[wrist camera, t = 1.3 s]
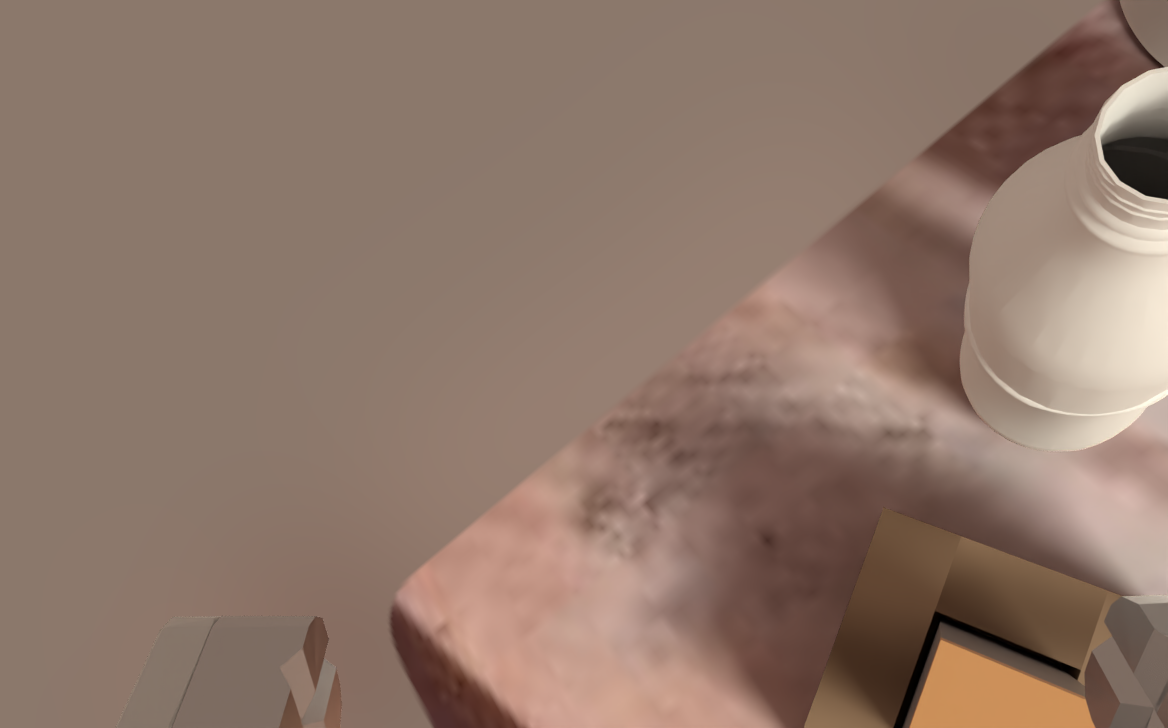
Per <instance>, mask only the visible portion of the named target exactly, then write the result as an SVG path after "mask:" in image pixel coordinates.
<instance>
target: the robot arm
mask: <svg viewBox="0 0 1168 728" xmlns="http://www.w3.org/2000/svg"><path fill="white" fill-rule="evenodd" d="M1119 1H1120V4H1121V7H1122V10H1123V13H1124V15H1125V18H1126V20H1127V22H1128V24H1129V26H1130V27H1131V29H1132V31H1133V32H1134V34H1135V36H1136V37H1137V38H1138V40H1139V41H1140V42H1141V44H1142V45H1143V46H1144V47H1145V48H1146V50H1147V51H1148V52H1149V53H1150V54H1151V55H1152V56H1153V57H1154V58H1155V59H1156V60H1157V61H1158V62H1159V63H1161V64H1162V65H1163V66H1164V67H1168V0H1119ZM1104 623H1105V624H1106V626H1107V628H1108V630H1109V632H1110V633H1111V635H1112V636H1111V637H1110V638H1109V639H1107V640H1106V641H1105V642H1103V643H1102V644H1100V645H1099V646H1098V647H1096V648H1095V649H1093V650H1092V652H1091V655H1090V658H1089V661H1088V663H1087V666H1086V669H1085V672H1084V677H1085V699H1086V702H1087V706H1088V709H1089V712H1090V716H1091V719H1092V722H1093V724H1094V726H1095V728H1168V595H1146V596H1122V597H1120V598H1119V599H1118V600H1116V601H1115V602H1114V603H1112V604H1111V606H1110V608H1109V611H1108V613H1107V615H1106V618H1105V620H1104ZM328 641H329V638H328V635H327V631H326V628H325V625H324V621H323V618H321V617H316V616H221V617H172V618H171V619H170V620H169V621H168V622H167V623H166V624H165V626H164V627H163V628H162V629H161V630H160V632H159V634H158V636H157V638H156V640H155V642H154V645H153V647H152V649H151V651H150V653H149V655H148V658H147V660H146V662H145V664H144V666H143V669H142V671H141V673H140V675H139V677H138V680H137V682H136V684H135V686H134V688H133V691H132V693H131V695H130V697H129V699H128V702H127V704H126V706H125V708H124V710H123V712H122V715H121V717H120V719H119V721H118V723H117V726H116V728H340V722H341V709H342V701H341V688H340V681H339V677H338V673H337V668H336V667H335V666H333V665H332V664H331V663H329V662H328V661H327V660H326V659H324V657H325V653H326V649H327V645H328Z"/></svg>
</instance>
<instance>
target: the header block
mask: <svg viewBox="0 0 1168 728" xmlns="http://www.w3.org/2000/svg"><path fill="white" fill-rule="evenodd" d="M1120 597H1122V596H1121V595H1118V594H1116V593H1113V592H1110V591H1108V590H1105V589H1102V588H1100V587H1097V586H1094V585H1092V584H1089V583H1086V582H1083V581H1081V580H1078V579H1075V578H1073V577H1070V576H1067V575H1065V574H1062V573H1059V572H1057V571H1054V570H1051V569H1048V568H1046V567H1043V566H1040V565H1038V564H1035V563H1032V562H1030V561H1027V560H1024V559H1022V558H1019V557H1016V556H1013V555H1011V554H1008V553H1005V552H1003V551H1000V550H997V549H995V548H992V547H989V546H987V545H984V544H981V543H978V542H976V541H973V540H970V539H968V538H965V537H962V536H960V535H957V534H954V533H952V532H949V531H946V530H943V529H941V528H938V527H935V526H933V525H930V524H927V523H925V522H922V521H919V520H917V519H914V518H911V517H908V516H906V515H903V514H900V513H898V512H895V511H892V510H890V509H887V508H884V507H883V510H882V513H881V516H880V518H879V521H878V524H877V527H876V530H875V532H874V535H873V538H872V541H871V543H870V546H869V549H868V552H867V554H866V557H865V560H864V563H863V565H862V568H861V571H860V574H859V576H858V579H857V582H856V585H855V587H854V590H853V593H852V596H851V598H850V601H849V604H848V607H847V609H846V612H845V615H844V618H843V620H842V623H841V626H840V629H839V631H838V634H837V637H836V640H835V643H834V645H833V648H832V651H831V654H830V656H829V659H828V662H827V665H826V667H825V670H824V673H823V676H822V678H821V681H820V684H819V687H818V689H817V692H816V695H815V698H814V700H813V703H812V706H811V709H810V711H809V714H808V717H807V720H806V722H805V725H804V728H902V724H903V720H904V717H905V714H906V711H907V708H908V706H909V703H910V700H911V697H912V694H913V692H914V689H915V686H916V683H917V680H918V678H919V675H920V672H921V669H922V666H923V663H924V661H925V658H926V655H927V652H928V649H929V647H930V644H931V641H932V638H933V635H934V633H935V630H936V627H937V624H938V621H939V618H940V617H942V618H945V619H947V620H950V621H952V622H955V623H957V624H960V625H962V626H965V627H967V628H969V629H972V630H974V631H977V632H979V633H982V634H984V635H987V636H989V637H992V638H994V639H997V640H999V641H1001V642H1004V643H1006V644H1009V645H1011V646H1014V647H1016V648H1019V649H1021V650H1024V651H1026V652H1029V653H1031V654H1033V655H1036V656H1038V657H1041V658H1043V659H1046V660H1048V661H1051V662H1053V663H1055V664H1056V665H1057V666H1059V667H1060V668H1061V669H1063V670H1064V671H1065V672H1067V673H1068V674H1069V675H1071V676H1072V677H1073V678H1075V679H1076V680H1077V681H1079V682H1080V683H1081V684H1083V685H1084V686H1085V677H1084V672H1085V669H1086V666H1087V663H1088V661H1089V658H1090V655H1091V652H1092V650H1093V649H1095V648H1096V647H1098V646H1099V645H1100V644H1102V643H1103V642H1105V641H1106V640H1107V639H1109V638H1110V637H1111V636H1112V635H1111V633H1110V632H1109V630H1108V628H1107V626H1106V624H1105V623H1104V620H1105V618H1106V615H1107V613H1108V611H1109V608H1110V606H1111V604H1112V603H1114V602H1115V601H1116V600H1118V599H1119V598H1120Z"/></svg>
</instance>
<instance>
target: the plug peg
mask: <svg viewBox="0 0 1168 728" xmlns="http://www.w3.org/2000/svg"><path fill="white" fill-rule="evenodd" d="M902 728H1095V726H1094V724H1093V722H1092V719H1091V716H1090V712H1089V709H1088V706H1087V702H1086V699H1085V686H1084V685H1083V684H1081V683H1080V682H1079V681H1077V680H1076V679H1075V678H1073V677H1072V676H1071V675H1069V674H1068V673H1067V672H1065V671H1064V670H1063V669H1061V668H1060V667H1059V666H1057V665H1056V664H1055V663H1053V662H1051V661H1048V660H1046V659H1043V658H1041V657H1038V656H1036V655H1033V654H1031V653H1029V652H1026V651H1024V650H1021V649H1019V648H1016V647H1014V646H1011V645H1009V644H1006V643H1004V642H1001V641H999V640H997V639H994V638H992V637H989V636H987V635H984V634H982V633H979V632H977V631H974V630H972V629H969V628H967V627H965V626H962V625H960V624H957V623H955V622H952V621H950V620H947V619H945V618H942V617H940V618H939V621H938V624H937V627H936V630H935V633H934V635H933V638H932V641H931V644H930V647H929V649H928V652H927V655H926V658H925V661H924V663H923V666H922V669H921V672H920V675H919V678H918V680H917V683H916V686H915V689H914V692H913V694H912V697H911V700H910V703H909V706H908V708H907V711H906V714H905V717H904V720H903V724H902Z"/></svg>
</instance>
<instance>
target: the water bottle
mask: <svg viewBox="0 0 1168 728" xmlns="http://www.w3.org/2000/svg"><path fill="white" fill-rule="evenodd" d="M969 280H970V281H969V284H968V288H967V292H966V298H965V307H964V329H965V333H964V336H963V339H962V344H961V350H960V362H959V363H960V373H961V381H962V385H963V388H964V390H965V393H966V395H967V397H968V399H969V401H970V403H971V405H972V407H973V409H974V410H975V412H976V413H977V415H978V416H979V417H980V418H981V419H982V420H983V421H984V422H985V423H986V424H987V425H988V426H989V427H990V428H991V429H992V430H994V431H995V432H996V433H998V434H999V435H1001V436H1003V437H1004V438H1006V439H1007V440H1009V441H1011V442H1014V443H1016V444H1019V445H1021V446H1023V447H1027V448H1031V449H1035V450H1039V451H1050V452H1056V451H1075V450H1082V449H1085V448H1089V447H1092V446H1095V445H1097V444H1099V443H1102V442H1104V441H1106V440H1108V439H1110V438H1112V437H1114V436H1115V435H1117V434H1118V433H1120V432H1121V431H1122V430H1124V429H1125V428H1127V427H1128V426H1129V425H1130V424H1132V423H1133V422H1134V421H1135V420H1136V419H1137V418H1138V417H1139V416H1140V415H1141V414H1142V412H1143V411H1144V410H1145V409H1146V407H1147V406H1149V405H1152V404H1154V403H1156V402H1157V401H1159V400H1161V399H1163V398H1164V397H1165V396H1167V395H1168V67H1164V68H1159V69H1154V70H1149V71H1147V72H1145V73H1144V74H1142V75H1140V76H1138V77H1137V78H1135V79H1133V80H1131V81H1129V82H1128V83H1126V84H1124V85H1122V86H1121V87H1120V88H1119V89H1118V90H1117V91H1116V92H1115V93H1114V94H1113V95H1112V96H1111V97H1110V98H1108V99H1107V100H1106V101H1105V103H1104V105H1103V106H1102V108H1101V110H1100V112H1099V114H1098V116H1097V117H1096V119H1095V121H1094V123H1093V124H1092V125H1091V126H1090V127H1089V128H1088V129H1087V130H1086V131H1085V132H1084V133H1083V134H1082V135H1081V136H1077V137H1074V138H1071V139H1068V140H1066V141H1064V142H1062V143H1059V144H1057V145H1055V146H1052V147H1050V148H1048V149H1046V150H1044V151H1043V152H1041V153H1039V154H1038V155H1036V156H1035V157H1033V158H1032V159H1030V160H1028V161H1027V162H1026V163H1025V164H1023V165H1022V166H1021V167H1020V168H1019V169H1018V170H1017V171H1016V172H1014V173H1013V174H1012V175H1011V176H1010V177H1009V178H1008V179H1007V180H1006V181H1005V182H1004V183H1003V184H1002V186H1001V187H1000V188H999V189H998V191H997V192H996V193H995V194H994V196H993V197H992V198H991V200H990V201H989V203H988V205H987V207H986V209H985V211H984V213H983V214H982V216H981V218H980V220H979V223H978V226H977V228H976V231H975V233H974V236H973V241H972V246H971V251H970V256H969Z"/></svg>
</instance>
